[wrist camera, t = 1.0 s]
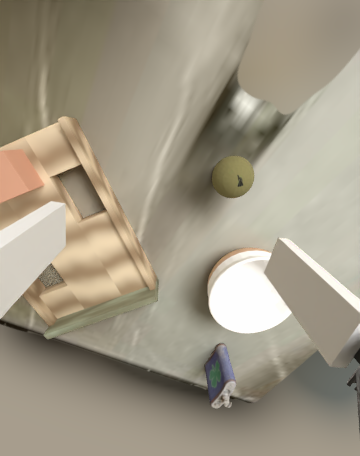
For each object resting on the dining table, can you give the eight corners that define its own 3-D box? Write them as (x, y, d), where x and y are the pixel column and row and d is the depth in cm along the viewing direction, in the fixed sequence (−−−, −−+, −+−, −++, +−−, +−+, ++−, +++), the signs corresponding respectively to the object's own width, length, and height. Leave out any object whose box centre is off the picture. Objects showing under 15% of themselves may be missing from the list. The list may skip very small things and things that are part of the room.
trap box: (-50, 174, 34) (-92, 180, 28) (76, 118, 32) (57, 114, 27) (61, 315, 46) (47, 339, 40) (158, 280, 44) (157, 301, 38)
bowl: (198, 303, 47) (203, 334, 39) (205, 235, 41) (214, 256, 33) (269, 304, 48) (288, 333, 40) (287, 238, 42) (313, 259, 34)
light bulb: (243, 172, 36) (269, 183, 27) (216, 193, 38) (233, 211, 28) (224, 145, 35) (245, 147, 25) (197, 168, 36) (207, 178, 27)
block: (-11, 163, 31) (-35, 166, 28) (22, 149, 31) (2, 150, 27) (13, 198, 33) (-6, 205, 30) (44, 185, 33) (29, 190, 29)
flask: (218, 341, 51) (231, 390, 41) (229, 344, 52) (244, 393, 42) (202, 367, 54) (210, 418, 44) (212, 369, 55) (222, 420, 45)
